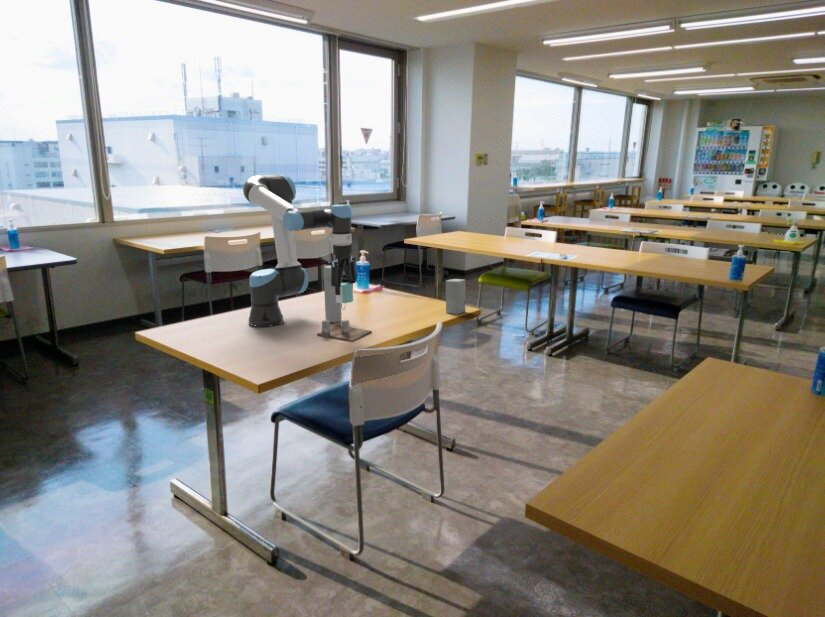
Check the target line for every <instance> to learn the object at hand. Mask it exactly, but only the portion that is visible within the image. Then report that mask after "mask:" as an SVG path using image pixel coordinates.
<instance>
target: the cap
mask: <svg viewBox="0 0 825 617" xmlns="http://www.w3.org/2000/svg"><path fill="white" fill-rule="evenodd" d="M341 287H342V295H343V303H342V304H347V303H352V302H354V292H353V291H354V286H353V287H352V283H348V282H342V283H341Z"/></svg>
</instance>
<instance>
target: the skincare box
mask: <svg viewBox="0 0 825 617" xmlns="http://www.w3.org/2000/svg"><path fill="white" fill-rule="evenodd" d="M464 312H466V279H464V278H463V279H461V278H452V279H447V280H445V313H446V314H452V315H457V316H458V315H459V314H462V313H464Z"/></svg>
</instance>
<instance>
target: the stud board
mask: <svg viewBox="0 0 825 617" xmlns="http://www.w3.org/2000/svg"><path fill="white" fill-rule="evenodd" d="M340 323H341V324H340V325H339V324H337V325H336V324H335V325H334V326H330V322H329V320H326V319H325V320H324V319H323V320H321V331H320V332H317V333H316V335H317V336H318V335H319V337H325V338H330V339H337V340H341V341H348V342H351V343H353V342H355V341H357V340H360V339H361V338H363V337H365V336H368V335H370V334H371V333H372V332H373V331H372V330H368V329H363V328H357V327H353V326H352V327H351V326H350V321H349V319H343V320H342V319H341V321H340Z"/></svg>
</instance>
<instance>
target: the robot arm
mask: <svg viewBox="0 0 825 617" xmlns="http://www.w3.org/2000/svg"><path fill="white" fill-rule="evenodd" d="M295 185H296V184H295V182H294V180H293V179H292V178H290V176H288V175H285V174H265V175H264V174H263V175H261V174H256V175H253V176H251V177H250V178H248V179H247V180H246V181H245V182H244V184H243V187H242V192H243V195H244V196H243V197H244V198H245V199H246V200H247V201H248V202H249V203H250V204H252V205H254V206H256V207H257V206H258V207H261V208H262V209H264V210H265V211H267V212H268V213H270V216H271V225H272V231H273V239H274V244H275V251H276V258H277V259H276V260H277V264H276V266H275V269H274V268H265V269H260V270H259V269H258V270H256V271H253V272H252V273H251V274H250V275H249V284H248V286H249V291H250V292H249V293H250V303H251V307H250V311H249V317H248V324H249V323H250V324H252V325H256V326H269V327H271V326H270V325H275V326H277V325H276V324H279V323H281V322H283V323H284V316H283V314H282V311H281V308H280V306H279V298H284V297H289V296H293V295H295V296H296V295H299V294H301V293H304V292H305V291H306V290H307V288H308V286H309V274H308V272H307V270H306V268H303V267H302V263H300V262H299V261H298V257H297V251H296V244H295V236H294V232H298V231H303V230H314V229H324V228H325V229H326V228H327V229H332V233H331V234H332V244H333V246H332V251H333V255H335V258H334V260H331V261H330V266H331V286H333V287H335V294H336V302H337V303H342V304H344V303H343V295H342V287H341V281H342V282H343V272H344V274H345V278H346V283H352V287H353V288H354V284H356V281H357V275H356V274H357V272H356V257H355V256H351V255H352V254H353V245H352V243H353V242H352V240H353V239H352V238H353V237H352V212H351V206H350V205H349V204H342V203H341V204H332V205H331V208H325V207H319V208H316V209H304V210H303V209H301V208H299V207H297V206H296V205H294V204H293V200H295V199H296V194H297V190H296V189H297V188H296V186H295ZM281 324H282V323H281ZM279 325H280V324H279Z"/></svg>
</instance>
